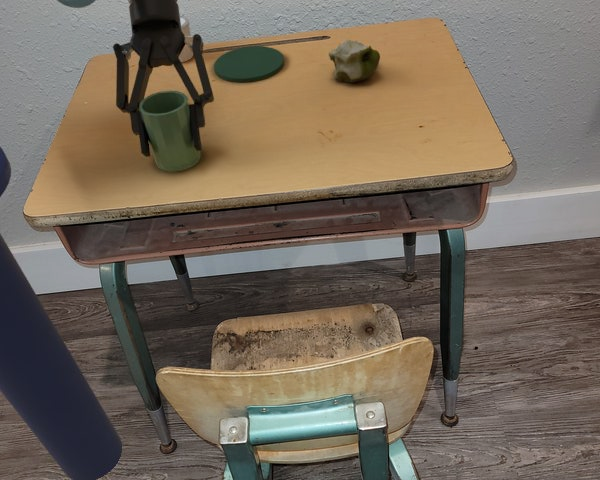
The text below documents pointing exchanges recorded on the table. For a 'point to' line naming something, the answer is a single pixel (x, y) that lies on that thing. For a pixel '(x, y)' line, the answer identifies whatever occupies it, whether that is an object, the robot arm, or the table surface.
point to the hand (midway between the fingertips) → (172, 151)
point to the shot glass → (186, 52)
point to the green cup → (169, 130)
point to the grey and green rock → (354, 61)
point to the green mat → (249, 64)
